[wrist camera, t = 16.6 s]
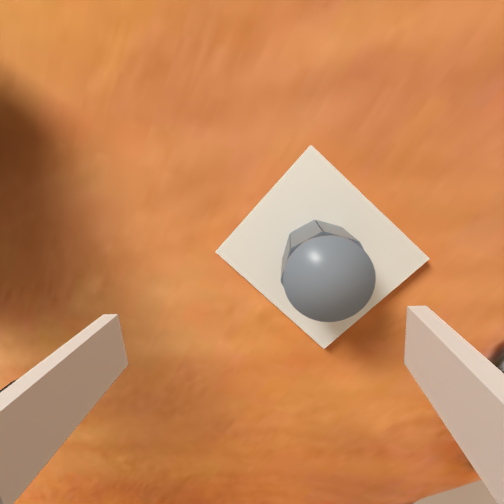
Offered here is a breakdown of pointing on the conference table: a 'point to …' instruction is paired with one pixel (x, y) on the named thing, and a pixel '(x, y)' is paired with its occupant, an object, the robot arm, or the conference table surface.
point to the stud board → (326, 210)
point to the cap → (326, 272)
